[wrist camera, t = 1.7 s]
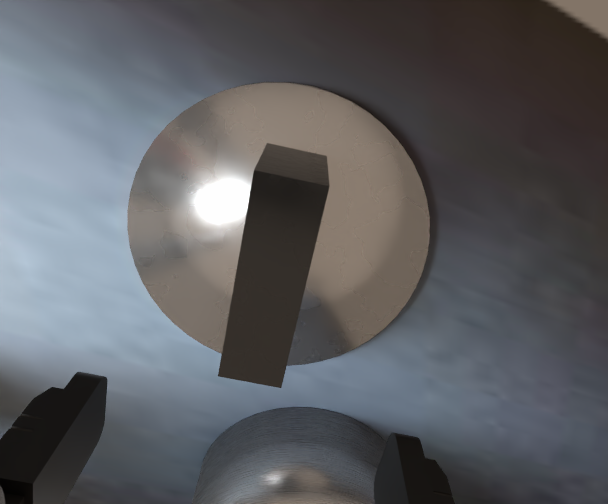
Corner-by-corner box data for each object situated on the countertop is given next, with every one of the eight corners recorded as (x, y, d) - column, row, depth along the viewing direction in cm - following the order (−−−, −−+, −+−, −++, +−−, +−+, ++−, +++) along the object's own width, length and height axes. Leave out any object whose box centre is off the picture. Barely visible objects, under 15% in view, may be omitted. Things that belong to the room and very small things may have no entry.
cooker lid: (146, 47, 23) (87, 50, 17) (467, 120, 24) (517, 146, 18) (124, 328, 30) (76, 400, 24) (380, 377, 31) (396, 458, 25)
